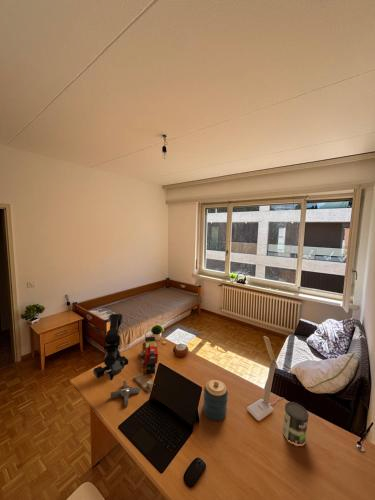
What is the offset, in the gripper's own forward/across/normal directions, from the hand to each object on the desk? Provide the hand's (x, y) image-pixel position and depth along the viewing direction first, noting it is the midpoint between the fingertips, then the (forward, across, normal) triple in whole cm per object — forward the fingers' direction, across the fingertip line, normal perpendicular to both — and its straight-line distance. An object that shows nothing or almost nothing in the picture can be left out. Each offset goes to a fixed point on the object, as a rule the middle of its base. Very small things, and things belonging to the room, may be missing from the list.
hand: (111, 379), depth 120 cm
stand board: (+10, +20, -5) cm, 23 cm away
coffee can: (+10, +54, -83) cm, 100 cm away
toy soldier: (+10, +34, +10) cm, 37 cm away
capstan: (+10, +6, -5) cm, 13 cm away
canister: (+10, +37, -48) cm, 61 cm away
